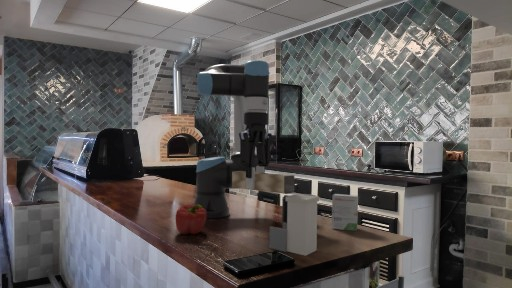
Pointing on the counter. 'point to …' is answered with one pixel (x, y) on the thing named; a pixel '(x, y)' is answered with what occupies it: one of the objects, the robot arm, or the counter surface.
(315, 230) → the grey forked bracket
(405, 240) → the counter surface
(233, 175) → the rail
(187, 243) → the counter surface
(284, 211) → the mug
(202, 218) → the vegetable
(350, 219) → the ink box
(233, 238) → the counter surface
